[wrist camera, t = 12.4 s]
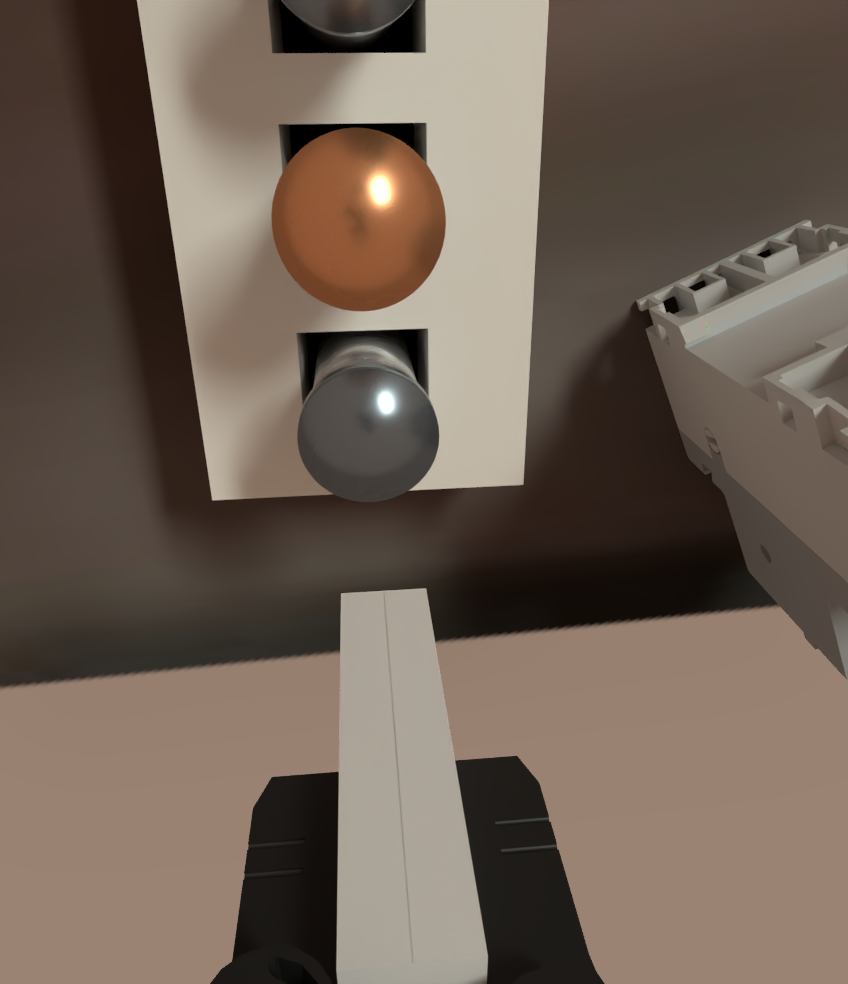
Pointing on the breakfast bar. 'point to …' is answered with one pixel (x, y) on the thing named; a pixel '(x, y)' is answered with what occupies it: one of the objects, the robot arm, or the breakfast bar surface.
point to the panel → (256, 262)
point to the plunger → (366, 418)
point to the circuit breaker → (771, 412)
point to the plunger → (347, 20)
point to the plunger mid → (358, 219)
